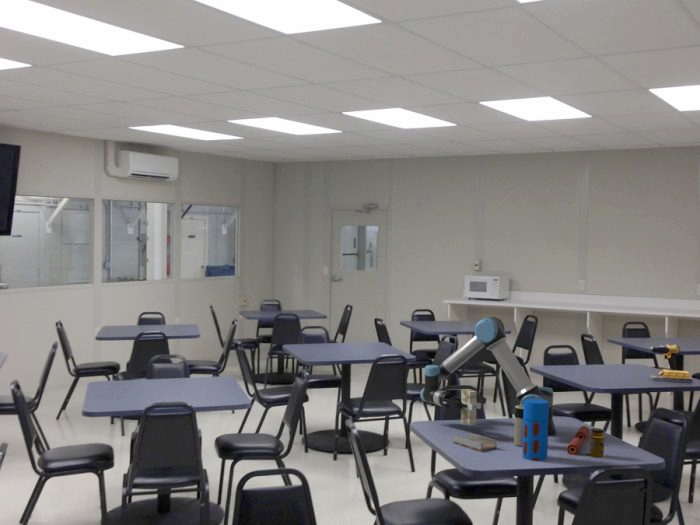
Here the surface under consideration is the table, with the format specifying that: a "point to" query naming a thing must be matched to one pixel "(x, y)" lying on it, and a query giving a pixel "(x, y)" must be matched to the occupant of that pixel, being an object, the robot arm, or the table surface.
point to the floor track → (476, 442)
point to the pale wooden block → (466, 414)
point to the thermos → (535, 429)
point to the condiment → (596, 444)
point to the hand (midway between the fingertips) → (476, 406)
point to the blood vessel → (578, 440)
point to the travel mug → (518, 425)
